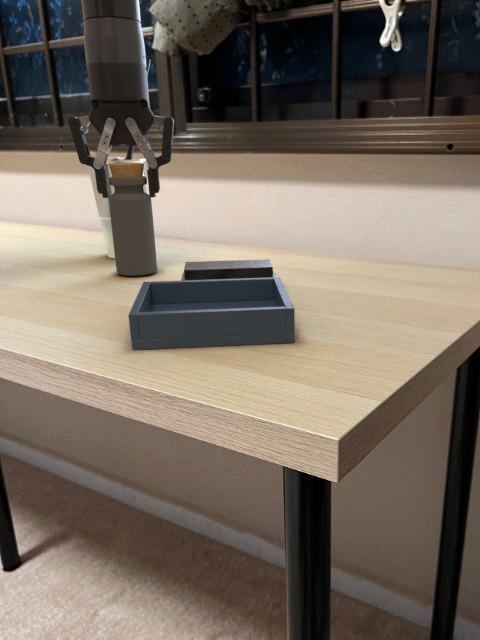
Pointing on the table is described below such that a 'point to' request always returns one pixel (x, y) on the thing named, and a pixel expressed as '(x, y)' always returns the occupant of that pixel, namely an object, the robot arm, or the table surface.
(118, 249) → the bottle
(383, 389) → the table surface
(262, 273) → the scrub brush
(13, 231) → the table surface
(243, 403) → the table surface
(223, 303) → the tray
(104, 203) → the glass
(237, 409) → the table surface
